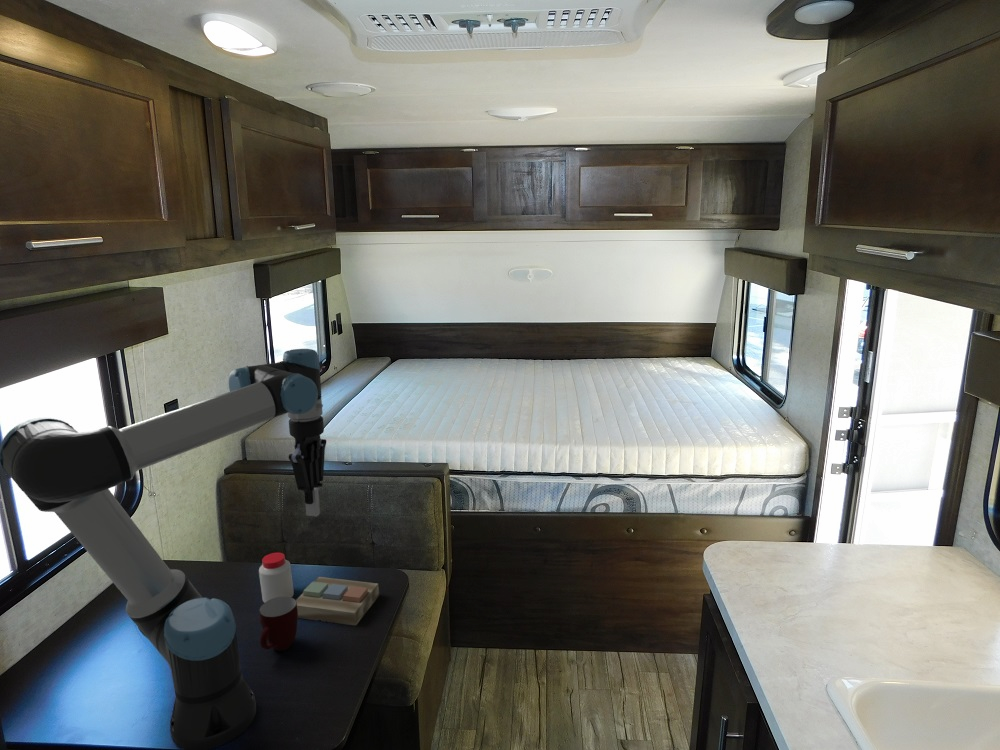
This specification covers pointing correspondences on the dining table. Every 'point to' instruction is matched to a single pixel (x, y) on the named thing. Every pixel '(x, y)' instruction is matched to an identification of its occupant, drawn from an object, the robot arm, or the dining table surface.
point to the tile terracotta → (355, 594)
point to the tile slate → (335, 592)
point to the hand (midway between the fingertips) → (313, 514)
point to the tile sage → (315, 589)
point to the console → (337, 604)
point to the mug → (278, 623)
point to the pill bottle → (275, 577)
